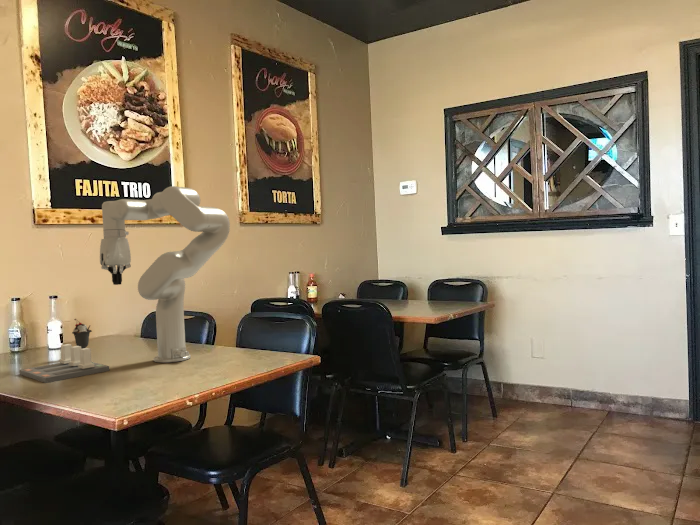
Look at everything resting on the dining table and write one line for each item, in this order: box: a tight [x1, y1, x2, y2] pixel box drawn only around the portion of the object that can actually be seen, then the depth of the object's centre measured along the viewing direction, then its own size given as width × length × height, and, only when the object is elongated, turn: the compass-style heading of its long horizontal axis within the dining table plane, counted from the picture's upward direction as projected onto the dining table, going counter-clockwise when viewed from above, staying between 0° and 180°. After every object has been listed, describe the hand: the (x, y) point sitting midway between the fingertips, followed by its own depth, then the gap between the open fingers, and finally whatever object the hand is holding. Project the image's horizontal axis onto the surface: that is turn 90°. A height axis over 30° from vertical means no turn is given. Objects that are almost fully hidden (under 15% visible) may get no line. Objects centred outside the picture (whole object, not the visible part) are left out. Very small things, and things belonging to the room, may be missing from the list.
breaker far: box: [58, 343, 73, 364], centre depth 201 cm, size 4×4×6 cm
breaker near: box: [78, 347, 94, 369], centre depth 191 cm, size 4×4×6 cm
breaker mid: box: [69, 345, 81, 366], centre depth 196 cm, size 4×4×6 cm
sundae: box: [71, 318, 93, 349], centre depth 218 cm, size 7×7×15 cm
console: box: [19, 361, 110, 384], centre depth 193 cm, size 22×20×2 cm
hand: (117, 284), depth 216 cm, fingers closed
